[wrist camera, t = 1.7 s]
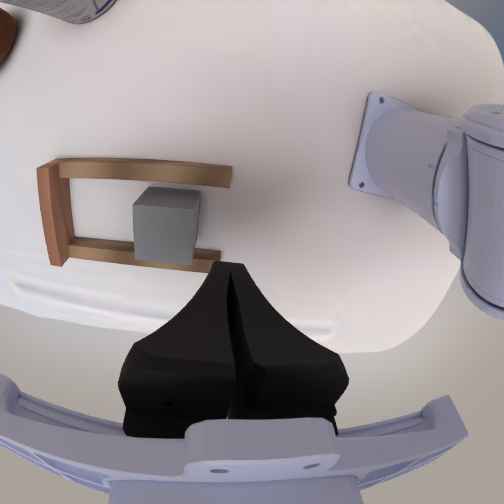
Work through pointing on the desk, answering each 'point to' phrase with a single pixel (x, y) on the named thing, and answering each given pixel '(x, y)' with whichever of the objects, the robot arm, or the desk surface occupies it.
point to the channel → (60, 170)
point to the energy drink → (66, 8)
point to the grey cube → (166, 225)
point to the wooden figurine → (6, 33)
